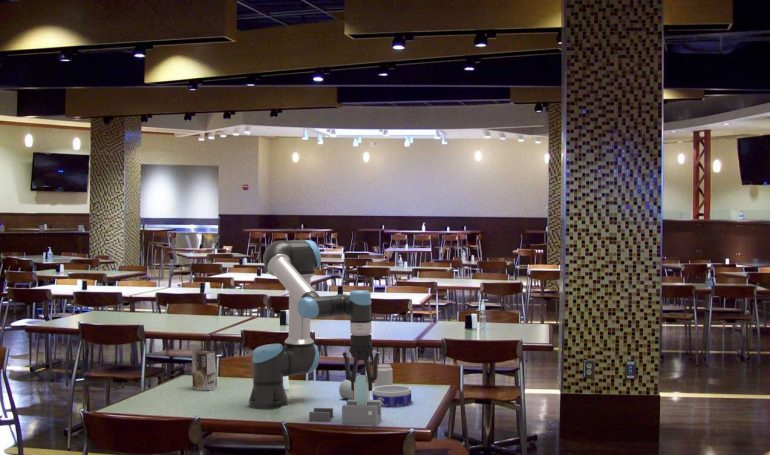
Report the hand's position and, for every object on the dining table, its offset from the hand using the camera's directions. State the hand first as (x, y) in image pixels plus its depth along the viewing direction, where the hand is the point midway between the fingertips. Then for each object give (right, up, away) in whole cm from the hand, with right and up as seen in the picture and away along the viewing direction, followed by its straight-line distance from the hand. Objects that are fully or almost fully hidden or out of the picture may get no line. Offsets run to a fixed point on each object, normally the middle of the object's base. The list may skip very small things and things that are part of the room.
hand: (362, 399), depth 301 cm
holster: (-15, -8, +3) cm, 17 cm away
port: (0, -8, 0) cm, 8 cm away
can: (+8, -8, +52) cm, 53 cm away
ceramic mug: (-4, -8, +42) cm, 43 cm away
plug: (0, -4, 0) cm, 4 cm away
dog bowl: (+11, -8, +33) cm, 36 cm away
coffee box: (-70, -9, +66) cm, 97 cm away
